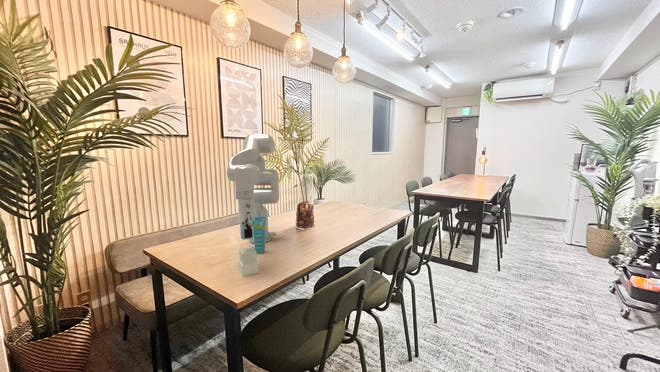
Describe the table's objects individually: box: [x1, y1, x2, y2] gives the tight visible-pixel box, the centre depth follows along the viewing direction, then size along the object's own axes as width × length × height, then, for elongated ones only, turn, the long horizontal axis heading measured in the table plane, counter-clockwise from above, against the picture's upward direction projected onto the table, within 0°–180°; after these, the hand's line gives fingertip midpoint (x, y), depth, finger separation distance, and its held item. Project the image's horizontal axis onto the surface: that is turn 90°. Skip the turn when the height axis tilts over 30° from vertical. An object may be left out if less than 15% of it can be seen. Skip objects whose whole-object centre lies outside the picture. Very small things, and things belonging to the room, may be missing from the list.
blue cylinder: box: [239, 223, 253, 241], centre depth 118 cm, size 5×5×6 cm
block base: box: [238, 259, 260, 277], centre depth 120 cm, size 7×7×5 cm
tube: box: [252, 217, 266, 255], centre depth 142 cm, size 7×5×19 cm, turn 103°
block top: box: [238, 246, 258, 265], centre depth 120 cm, size 6×6×5 cm
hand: (247, 235), depth 118 cm, fingers closed on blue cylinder, 5 cm apart
